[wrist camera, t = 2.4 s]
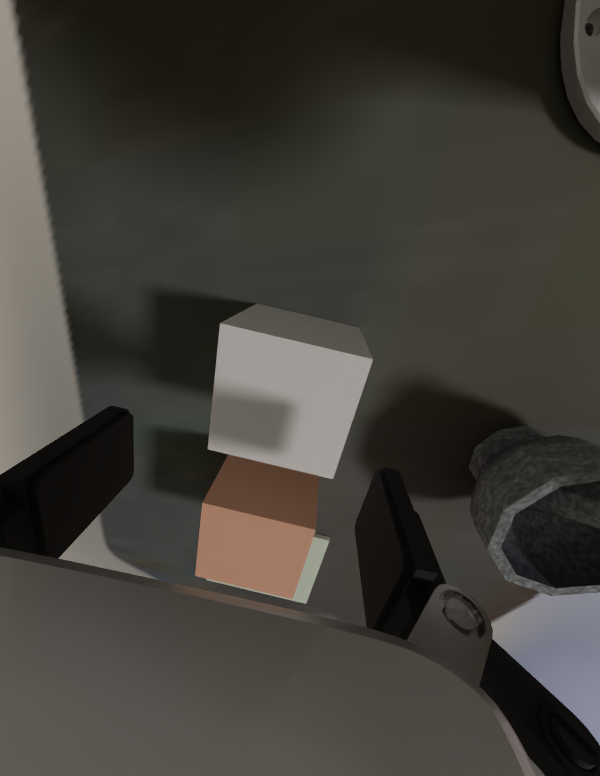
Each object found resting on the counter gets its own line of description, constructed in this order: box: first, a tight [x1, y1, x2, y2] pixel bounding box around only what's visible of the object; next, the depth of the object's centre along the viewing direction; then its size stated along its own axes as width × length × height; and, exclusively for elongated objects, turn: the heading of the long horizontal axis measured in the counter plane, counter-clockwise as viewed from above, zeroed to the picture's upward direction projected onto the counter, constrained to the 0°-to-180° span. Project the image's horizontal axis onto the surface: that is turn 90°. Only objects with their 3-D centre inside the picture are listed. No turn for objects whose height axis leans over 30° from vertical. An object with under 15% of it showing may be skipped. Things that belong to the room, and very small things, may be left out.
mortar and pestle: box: [469, 425, 600, 596], centre depth 16 cm, size 11×9×12 cm
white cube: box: [208, 304, 373, 479], centre depth 17 cm, size 7×7×7 cm
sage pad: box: [206, 534, 330, 604], centre depth 29 cm, size 10×11×1 cm
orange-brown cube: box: [195, 454, 319, 599], centre depth 22 cm, size 7×7×7 cm
